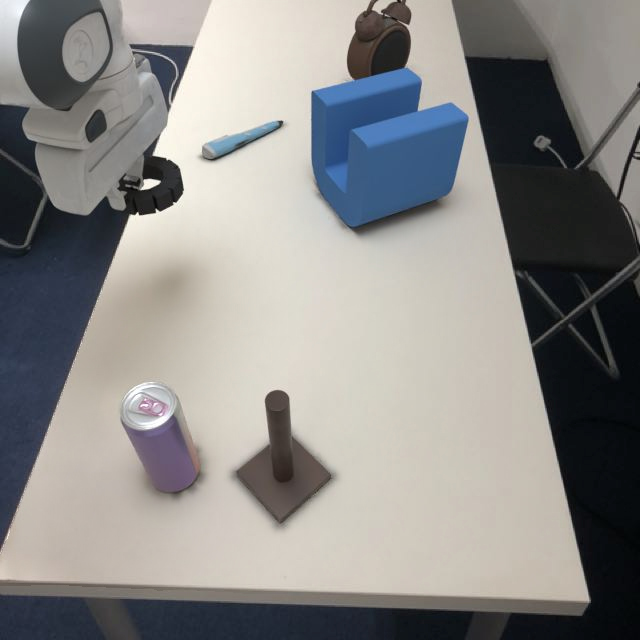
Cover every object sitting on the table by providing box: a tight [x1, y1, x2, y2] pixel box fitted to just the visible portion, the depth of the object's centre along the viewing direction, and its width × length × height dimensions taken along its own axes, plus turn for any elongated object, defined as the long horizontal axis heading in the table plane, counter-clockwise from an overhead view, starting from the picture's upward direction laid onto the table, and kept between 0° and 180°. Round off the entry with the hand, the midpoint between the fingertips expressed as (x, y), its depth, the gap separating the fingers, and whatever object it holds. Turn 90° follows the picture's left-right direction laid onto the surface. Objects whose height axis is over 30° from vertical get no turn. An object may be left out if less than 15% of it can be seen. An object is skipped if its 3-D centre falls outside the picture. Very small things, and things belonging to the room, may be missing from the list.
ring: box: [105, 155, 185, 216], centre depth 72 cm, size 10×10×2 cm
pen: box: [201, 120, 284, 160], centre depth 112 cm, size 19×3×3 cm, turn 132°
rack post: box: [235, 389, 332, 524], centre depth 61 cm, size 8×8×17 cm
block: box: [310, 67, 470, 228], centre depth 96 cm, size 18×18×18 cm
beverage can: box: [119, 381, 201, 493], centre depth 62 cm, size 6×6×15 cm
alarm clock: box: [346, 0, 413, 81], centre depth 120 cm, size 15×7×20 cm, turn 132°
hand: (128, 197), depth 69 cm, fingers closed on ring, 2 cm apart
